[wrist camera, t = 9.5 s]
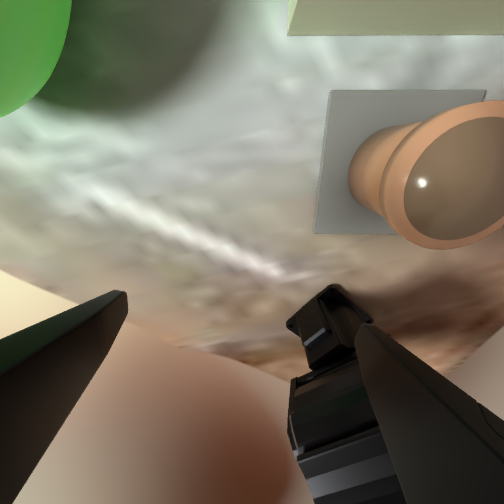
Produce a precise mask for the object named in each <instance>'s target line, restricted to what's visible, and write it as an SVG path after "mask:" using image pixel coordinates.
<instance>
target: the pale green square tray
mask: <svg viewBox="0 0 504 504" xmlns="http://www.w3.org/2000/svg"><path fill="white" fill-rule="evenodd" d="M287 35H504V0H289V7H288V27H287Z"/></svg>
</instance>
